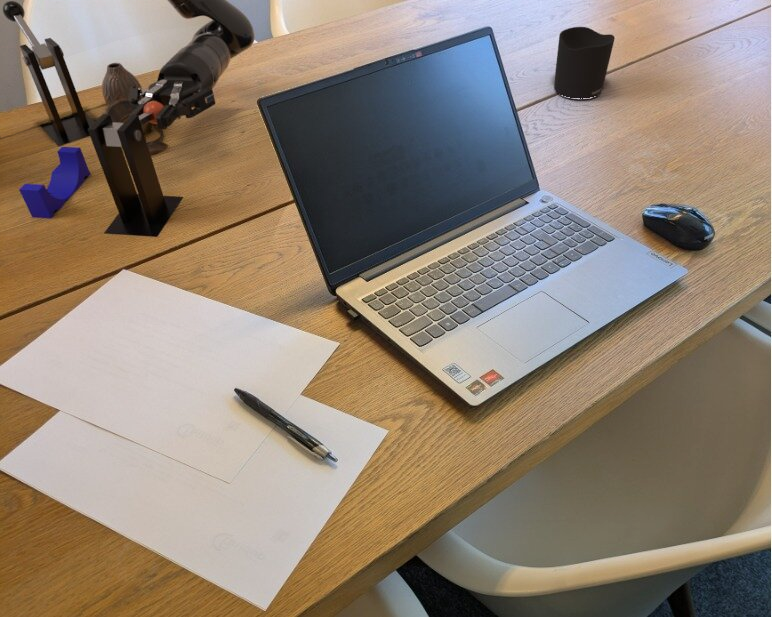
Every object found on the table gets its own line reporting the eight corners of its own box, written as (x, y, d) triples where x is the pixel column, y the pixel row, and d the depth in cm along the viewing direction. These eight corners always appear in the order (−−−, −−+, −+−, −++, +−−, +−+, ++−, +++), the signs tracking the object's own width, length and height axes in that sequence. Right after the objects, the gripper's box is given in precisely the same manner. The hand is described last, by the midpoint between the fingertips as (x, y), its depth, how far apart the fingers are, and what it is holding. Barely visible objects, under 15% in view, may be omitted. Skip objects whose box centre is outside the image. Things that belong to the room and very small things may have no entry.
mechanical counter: (160, 94, 115) (98, 92, 111) (168, 118, 106) (100, 117, 102) (162, 134, 119) (102, 133, 115) (170, 161, 109) (105, 161, 106)
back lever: (2, 15, 111) (-4, -1, 108) (21, 10, 112) (16, -6, 109) (39, 72, 107) (35, 57, 105) (59, 67, 109) (55, 52, 106)
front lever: (151, 120, 98) (147, 98, 97) (171, 121, 98) (168, 99, 96) (103, 149, 87) (97, 125, 85) (126, 150, 86) (120, 125, 84)
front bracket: (136, 201, 100) (102, 103, 90) (185, 204, 99) (157, 105, 89) (106, 240, 93) (65, 139, 82) (159, 244, 92) (125, 142, 81)
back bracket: (42, 132, 118) (4, 43, 107) (86, 117, 121) (53, 30, 111) (61, 153, 112) (23, 61, 101) (106, 137, 115) (74, 47, 105)
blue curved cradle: (67, 179, 106) (53, 146, 101) (93, 181, 105) (80, 147, 101) (26, 223, 97) (9, 188, 93) (54, 225, 96) (38, 190, 92)
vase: (112, 105, 125) (96, 59, 119) (149, 101, 125) (135, 55, 120) (107, 122, 120) (91, 75, 114) (146, 117, 120) (132, 71, 115)
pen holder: (557, 103, 119) (566, 48, 112) (546, 81, 126) (554, 27, 119) (609, 101, 119) (621, 45, 112) (595, 78, 126) (606, 25, 119)
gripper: (144, 50, 105) (92, 96, 92) (228, 52, 103) (187, 99, 91) (156, 95, 110) (109, 145, 97) (237, 98, 108) (199, 149, 96)
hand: (147, 123), depth 94 cm, fingers closed on front lever, 3 cm apart
